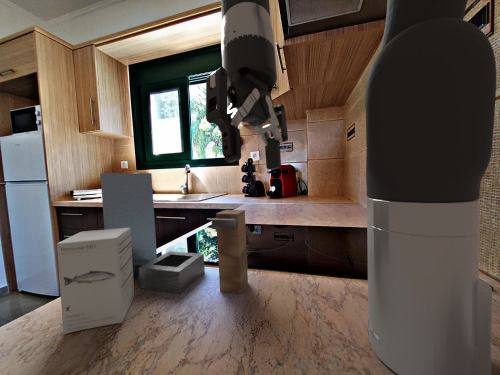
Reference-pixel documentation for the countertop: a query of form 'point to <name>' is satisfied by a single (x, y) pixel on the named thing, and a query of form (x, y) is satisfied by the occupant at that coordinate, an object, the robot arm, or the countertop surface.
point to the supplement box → (95, 278)
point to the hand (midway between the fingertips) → (255, 165)
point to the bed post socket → (145, 233)
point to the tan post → (231, 250)
